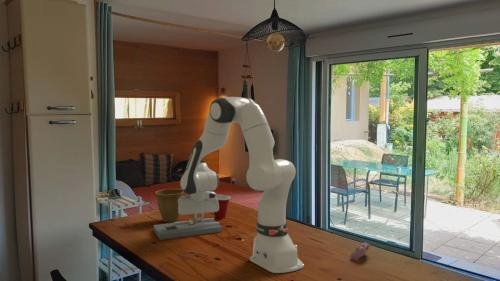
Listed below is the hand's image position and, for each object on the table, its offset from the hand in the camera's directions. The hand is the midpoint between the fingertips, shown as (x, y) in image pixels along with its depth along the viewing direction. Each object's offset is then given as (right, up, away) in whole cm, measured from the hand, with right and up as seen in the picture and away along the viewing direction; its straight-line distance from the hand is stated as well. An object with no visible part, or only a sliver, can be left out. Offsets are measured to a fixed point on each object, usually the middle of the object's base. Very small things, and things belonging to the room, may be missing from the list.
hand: (198, 222), depth 186 cm
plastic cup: (+9, -3, +22) cm, 24 cm away
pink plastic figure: (+70, -7, -35) cm, 79 cm away
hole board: (-5, -4, -2) cm, 7 cm away
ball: (-3, +1, -2) cm, 4 cm away
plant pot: (-17, -3, +15) cm, 23 cm away
